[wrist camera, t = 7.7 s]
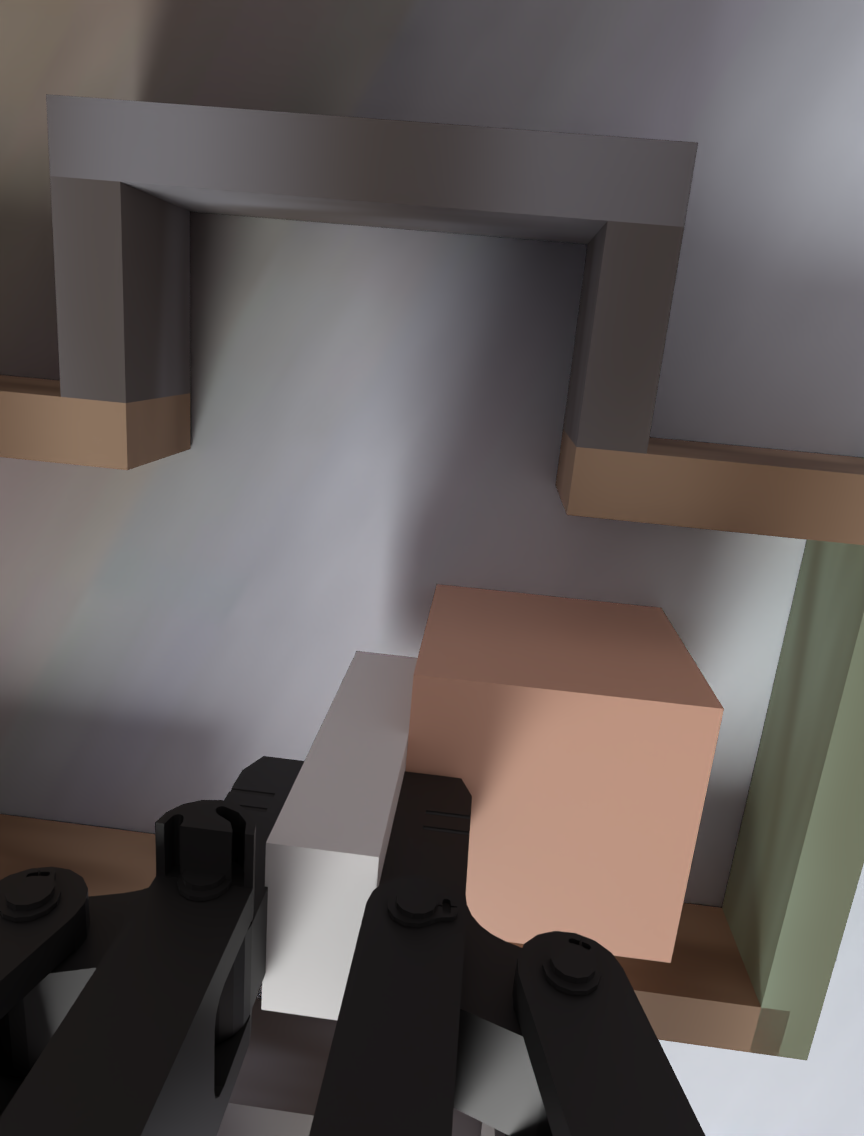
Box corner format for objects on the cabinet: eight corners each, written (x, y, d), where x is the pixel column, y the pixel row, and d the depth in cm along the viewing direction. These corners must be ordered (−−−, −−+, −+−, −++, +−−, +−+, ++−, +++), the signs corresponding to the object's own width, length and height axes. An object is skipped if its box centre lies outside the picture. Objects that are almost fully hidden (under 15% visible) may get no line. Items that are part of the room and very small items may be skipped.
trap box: (-84, 984, 22) (-171, 1080, 19) (-194, 116, 16) (-347, 65, 13) (724, 1100, 21) (760, 1222, 18) (951, 204, 14) (1062, 169, 12)
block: (419, 779, 19) (392, 927, 14) (436, 583, 17) (413, 674, 13) (626, 803, 19) (670, 962, 14) (660, 607, 17) (723, 708, 12)
